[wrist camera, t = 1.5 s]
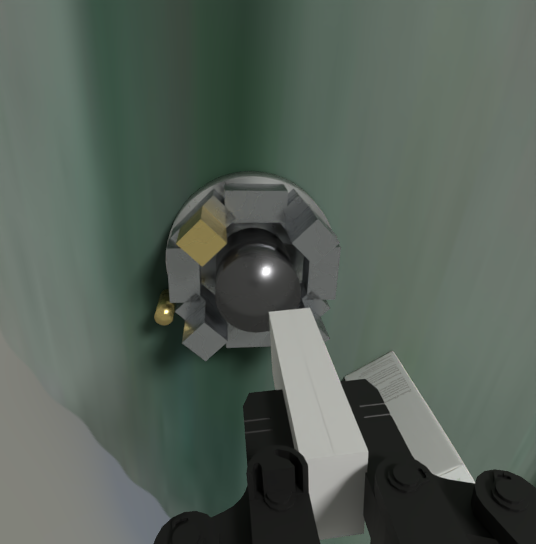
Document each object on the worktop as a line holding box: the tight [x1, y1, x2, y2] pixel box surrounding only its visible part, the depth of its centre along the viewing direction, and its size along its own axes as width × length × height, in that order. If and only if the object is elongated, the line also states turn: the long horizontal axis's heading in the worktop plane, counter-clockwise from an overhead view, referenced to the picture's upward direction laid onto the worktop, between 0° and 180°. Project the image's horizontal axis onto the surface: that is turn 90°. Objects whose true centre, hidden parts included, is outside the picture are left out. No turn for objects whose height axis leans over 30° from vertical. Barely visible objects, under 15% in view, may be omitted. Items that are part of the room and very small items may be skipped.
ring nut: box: [166, 183, 341, 361], centre depth 34 cm, size 14×14×6 cm
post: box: [154, 289, 176, 325], centre depth 39 cm, size 2×2×4 cm
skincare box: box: [344, 351, 475, 483], centre depth 41 cm, size 8×7×16 cm
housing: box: [166, 171, 332, 333], centre depth 35 cm, size 15×15×9 cm
